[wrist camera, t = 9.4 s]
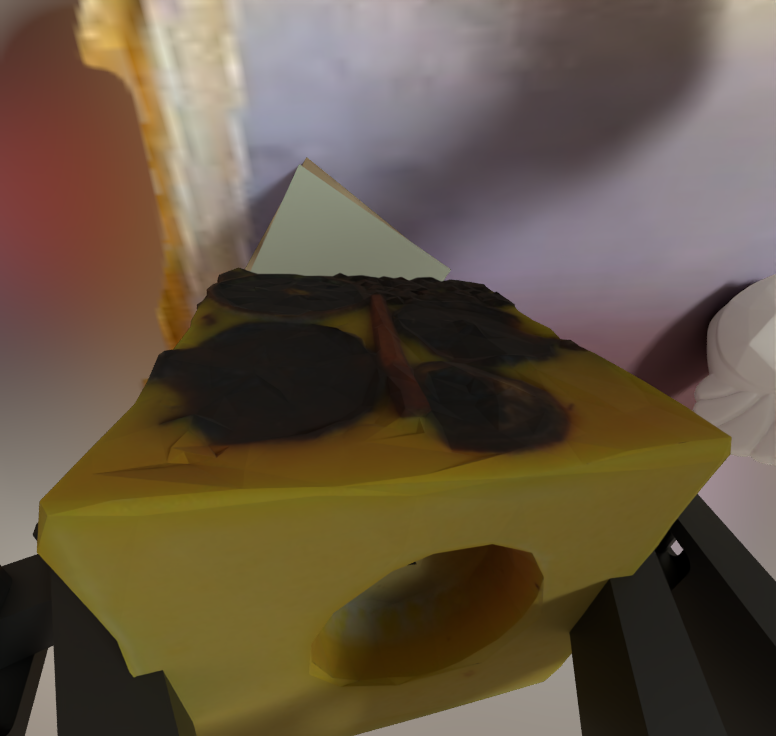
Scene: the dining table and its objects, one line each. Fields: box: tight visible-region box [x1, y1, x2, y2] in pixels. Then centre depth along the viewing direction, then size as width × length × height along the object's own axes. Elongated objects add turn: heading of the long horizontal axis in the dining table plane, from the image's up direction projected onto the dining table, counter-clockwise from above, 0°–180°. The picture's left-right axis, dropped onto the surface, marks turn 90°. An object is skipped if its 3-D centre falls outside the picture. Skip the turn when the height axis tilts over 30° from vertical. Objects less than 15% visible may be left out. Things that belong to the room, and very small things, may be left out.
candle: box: [37, 268, 732, 736], centre depth 11 cm, size 10×10×10 cm
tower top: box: [251, 164, 451, 281], centre depth 26 cm, size 12×12×6 cm
